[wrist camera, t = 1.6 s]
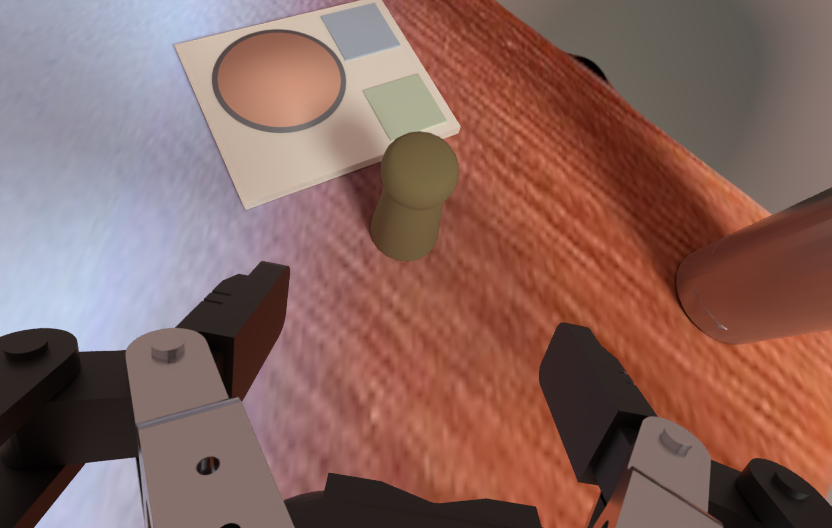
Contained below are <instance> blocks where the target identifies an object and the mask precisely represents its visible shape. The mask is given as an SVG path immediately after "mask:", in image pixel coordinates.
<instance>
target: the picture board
mask: <svg viewBox="0 0 832 528" xmlns="http://www.w3.org/2000/svg"><path fill="white" fill-rule="evenodd" d="M174 46H175V48H176V50H177V53H178V55H179V57H180V60H181V62H182V64H183V67H184V69H185V71H186V74H187V76H188V78H189V81H190V83H191V85H192V87H193V90H194V92H195V94H196V97H197V99H198V101H199V104H200V106H201V108H202V111H203V113H204V115H205V118H206V120H207V122H208V125H209V127H210V129H211V132H212V134H213V136H214V139H215V141H216V143H217V146H218V148H219V150H220V152H221V155H222V157H223V159H224V162H225V164H226V166H227V169H228V171H229V173H230V176H231V178H232V180H233V183H234V185H235V187H236V190H237V192H238V194H239V197H240V199H241V201H242V204H243V206H244V207H245V209H246V210H247V209H250V208H253V207H256V206H258V205H261V204H264V203H267V202H270V201H272V200H275V199H278V198H281V197H283V196H286V195H289V194H292V193H294V192H297V191H300V190H303V189H306V188H308V187H311V186H314V185H317V184H319V183H322V182H325V181H328V180H330V179H333V178H336V177H339V176H342V175H344V174H347V173H350V172H353V171H355V170H358V169H361V168H364V167H366V166H369V165H372V164H375V163H378V162H380V161H381V160H382V157H383V155H384V153H385V151H386V149H387V147H388V146H389V145H390V144H391V143H392V142H393V141H394V140H395V139H396V138H398V137H400V136H402V135H404V134H407V133H409V132H417V131H421V132H429V133H432V134H434V135H436V136H439V137H440V138H442V139H444V138H447V137H450V136H452V135H455V134H458V133H459V130H460V127H461V126H460V125H459V123H458V122H457V120H456V118H455V117H454V115H453V114H452V112H451V110H450V109H449V107H448V106H447V104H446V102H445V101H444V99H443V98H442V96H441V94H440V93H439V91H438V90H437V88H436V86H435V85H434V83H433V82H432V80H431V78H430V77H429V75H428V73H427V72H426V70H425V69H424V67H423V65H422V64H421V62H420V61H419V59H418V57H417V56H416V54H415V53H414V51H413V49H412V48H411V46H410V45H409V43H408V41H407V40H406V38H405V37H404V35H403V33H402V32H401V30H400V29H399V27H398V25H397V24H396V22H395V21H394V19H393V17H392V16H391V14H390V13H389V11H388V9H387V8H386V6H385V5H384V3H383V1H382V0H360V1H355V2H351V3H347V4H343V5H339V6H334V7H330V8H326V9H322V10H318V11H314V12H309V13H305V14H301V15H297V16H293V17H288V18H284V19H280V20H276V21H272V22H267V23H263V24H259V25H255V26H251V27H247V28H242V29H238V30H234V31H230V32H226V33H221V34H217V35H213V36H209V37H205V38H201V39H196V40H192V41H188V42H184V43H180V44H175V45H174Z"/></svg>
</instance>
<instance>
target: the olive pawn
mask: <svg viewBox="0 0 832 528" xmlns="http://www.w3.org/2000/svg"><path fill="white" fill-rule="evenodd" d="M458 170H459V164H458V161H457V158H456V155H455V153H454V151H453V150H452V149H451V147H450V146H449V145H448V143H447V142H445V141H444V140H443V139H442V138H440V137H439V136H436V135H434V134H432V133H429V132H421V131H417V132H409V133H407V134H404V135H402V136H400V137H398V138H396V139H395V140H394V141H393V142H392V143H391V144H390V145H389V146H388V147H387V149H386V151H385V153H384V155H383V157H382V160H381V170H380V175H381V179H382V183H383V186H384V188H383V191H382V193H381V196H380V198H379V201H378V203H377V206H376V209H375V211H374V214H373V216H372V219H371V225H370V233H371V237H372V240H373V242H374V243H375V245H376V247H377V248H378V249H379V250H380V251H381V252H382V253H383V254H385V255H386V256H388V257H390V258H393V259H395V260H400V261H412V260H417V259H419V258H421V257H423V256H425V255H427V254H428V253H429V252H430V251H431V249H432V248H433V247H434V246H435V243H436V241H437V238H438V232H439V225H440V218H441V211H442V204H443V202H444V201H445V200H446V199H447V198H448V197H449V196H450V195H451V194H452V193H453V191H454V188H455V186H456V183H457V181H458Z"/></svg>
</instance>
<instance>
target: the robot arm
mask: <svg viewBox="0 0 832 528" xmlns="http://www.w3.org/2000/svg"><path fill="white" fill-rule="evenodd" d="M289 279H290V268H289V266H285V265H280V264H275V263H270V262H265V261H261V262H260V263H259V264H258V265H257V266H256V268H255V269H254V270H253V271H252V272H251V273H250V274H249V275H248V276H247V275H242V274H237V275H235V276H232V277H230V278H228V279H225V280H223V281H222V282H221V283H220V284H219V285H218V286H217V287H216V288H215V289H214V290H213V291H212V293H210V294H209V295H208V296H207V297H205V298H204V301H201V302H200V303H199V304H198V305H197V306H196V307H195V308H194V309H193V310H192V311H191V312H190V313H189V314H188V315H187V316H186V317H185V318H184V319H183V320H182V321H181V322H180V323H179V324H178V325H177V326H176V327H175V328H168V329H161V330H156V331H152V332H149V333H147V334H144V335H142V336H140V337H138V338H137V339H136V340H134V341H133V342H132V343H131V344H130V345H129V346H128V348H127V350H121V351H89V352H79V350H78V343H77V339H76V337H75V336H74V335H73V334H71V333H69V332H67V331H64V330H59V329H52V328H38V329H29V330H23V331H18V332H14V333H10V334H7V335H4V336H2V337H0V528H34V527H35V526H36V524H37V523H38V522H39V521H40V519H41V518H42V517H43V516H44V515H45V513H46V512H47V511H48V510H49V508H50V507H51V506H52V505H53V503H54V502H55V501H56V500H57V498H58V497H59V496H60V495H61V493H62V492H63V491H64V490H65V488H66V487H67V486H68V485H69V483H70V482H71V481H72V480H73V478H74V477H75V476H76V475H77V473H78V472H79V471H80V470H81V468H82V467H83V466H84V465H85V463H89V462H98V461H107V460H115V459H124V458H133V457H135V462H136V469H137V476H138V483H139V491H140V498H141V505H142V513H143V520H144V527H145V528H543V527H541V524H540V520H539V516H538V512H537V509H536V507H535V506H529V505H523V504H516V503H510V502H504V501H498V500H492V499H478V500H468V501H458V502H448V503H432V502H429V501H427V500H424V499H422V498H420V497H417V496H415V495H413V494H410V493H408V492H405V491H403V490H401V489H398V488H396V487H394V486H391V485H389V484H386V483H384V482H382V481H376V480H370V479H364V478H358V477H352V476H346V475H340V474H334V473H328V478H327V482H326V486H325V490H324V491H315V492H310V493H305V494H300V495H297V496H295V497H292V498H289V499H286V500H284V501H283V499H282V497H281V494H280V492H279V489H278V487H277V485H276V482H275V480H274V477H273V475H272V473H271V470H270V468H269V466H268V463H267V461H266V458H265V456H264V454H263V451H262V449H261V447H260V444H259V442H258V439H257V437H256V435H255V432H254V430H253V427H252V425H251V423H250V420H249V418H248V416H247V413H246V411H245V408H244V406H243V404H242V401H243V399H244V397H245V396H246V394H247V392H248V390H249V388H250V387H251V385H252V383H253V381H254V380H255V378H256V376H257V374H258V373H259V371H260V369H261V367H262V365H263V364H264V362H265V360H266V358H267V357H268V355H269V353H270V351H271V349H272V348H273V346H274V344H275V342H276V341H277V339H278V337H279V335H280V333H281V331H282V328H283V325H284V321H285V316H286V308H287V298H288V288H289ZM676 286H677V292H678V296H679V299H680V302H681V304H682V307H683V308H684V310H685V312H686V313H687V315H688V316H689V318H690V319H691V320H692V321H693V323H694V324H695V325H696V326H697V327H698V328H700V329H701V330H702V331H703V332H704V333H706V334H707V335H709V336H710V337H712V338H714V339H716V340H718V341H721V342H723V343H728V344H734V345H735V344H747V343H753V342H759V341H765V340H771V339H777V338H783V337H791V336H797V335H803V334H809V333H815V332H821V331H827V330H832V187H831V188H829V189H827V190H825V191H823V192H820V193H819V194H816V195H814V196H812V197H810V198H808V199H805V200H803V201H801V202H799V203H797V204H795V205H792V206H790V207H788V208H786V209H784V210H782V211H779V212H778V213H775V214H773V215H771V216H769V217H767V218H764V219H762V220H760V221H758V222H756V223H754V224H752V225H749V226H747V227H745V228H743V229H741V230H739V231H736V232H734V233H732V234H730V235H727V236H725V237H723V238H721V239H719V240H717V241H715V242H712V243H710V244H708V245H706V246H704V247H702V248H700V249H697V250H695V251H694V252H692V253H690V254H688V255H687V256H686V257H685V258H684V259H683V260H682V262H681V264H680V266H679V268H678V272H677V277H676ZM539 382H540V386H541V388H542V391H543V394H544V396H545V399H546V401H547V404H548V406H549V409H550V411H551V414H552V417H553V419H554V422H555V424H556V427H557V429H558V432H559V434H560V437H561V440H562V442H563V445H564V447H565V450H566V452H567V455H568V457H569V460H570V463H571V465H572V468H573V470H574V473H575V475H576V478H577V480H578V482H581V483H587V484H593V485H599V487H600V490H601V491H600V493H599V494H598V496H597V498H596V499H595V501H594V504H593V506H592V509H591V511H590V514H589V517H588V519H587V522H586V524H585V527H584V528H832V506H830V505H829V503H828V502H827V501H826V500H825V499H824V498H823V497H822V496H821V494H820V493H819V492H818V491H817V490H816V489H815V488H813V487H812V486H811V485H810V484H809V483H808V482H806V481H805V480H804V479H803V478H801V477H800V476H798V475H797V474H795V473H794V472H792V471H791V470H789V469H787V468H785V467H783V466H781V465H779V464H777V463H775V462H772V461H770V460H766V459H761V458H755V459H752V460H751V461H750V462H749V463H748V465H747V466H746V467H745V468H744V470H743V471H742V472H740V471H737V470H735V469H733V468H730V467H728V466H725V465H723V464H720V463H718V462H715V461H713V460H711V458H710V455H709V453H708V451H707V449H706V448H705V447H704V445H703V444H702V443H701V442H700V441H699V440H698V439H697V438H696V437H695V436H694V435H693V434H691V433H690V432H689V431H687V430H686V429H685V428H683V427H681V426H680V425H678V424H676V423H674V422H672V421H669V420H667V419H664V418H660V417H658V416H657V415H656V413H655V412H654V410H653V409H652V408H651V406H650V405H649V403H648V402H647V400H646V399H645V398H644V396H643V395H642V393H641V392H640V391H639V389H638V388H637V386H636V385H634V382H633V381H632V379H631V378H630V376H629V375H628V374H626V371H625V369H624V368H623V367H622V365H621V364H620V362H619V361H618V359H616V358H615V357H614V356H613V355H612V354H611V353H609V352H608V351H607V350H606V349H605V348H604V347H602V346H601V345H600V343H599V342H598V340H597V339H596V337H595V336H594V334H593V333H592V332H591V330H590V329H589V328H588V327H584V326H579V325H574V324H569V323H564V322H562V323H560V324H559V325H558V326H557V328H556V330H555V332H554V335H553V337H552V339H551V342H550V344H549V346H548V349H547V351H546V353H545V356H544V358H543V360H542V363H541V365H540V370H539Z"/></svg>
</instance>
